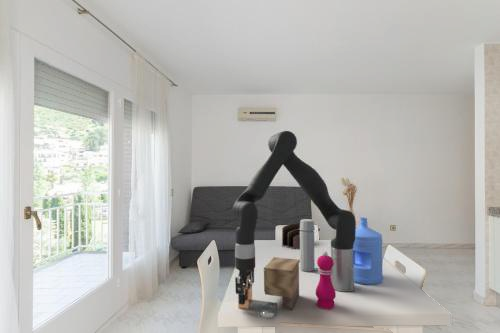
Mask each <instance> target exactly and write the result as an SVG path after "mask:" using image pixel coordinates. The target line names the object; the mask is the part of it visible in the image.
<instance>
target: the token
mask: <svg viewBox="0 0 500 333" xmlns="http://www.w3.org/2000/svg"><path fill="white" fill-rule="evenodd" d="M259 312H260V314H259V316H260V317H261V318H262V319H265V320H266V319H269V320H270V319H273V318H274V317H275V316H276V315H275V313H276V312H275V311H274V310H273V309H270V308H265V309H262V310H261V311H260V310H259Z"/></svg>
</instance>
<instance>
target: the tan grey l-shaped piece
mask: <svg viewBox="0 0 500 333" xmlns="http://www.w3.org/2000/svg"><path fill="white" fill-rule="evenodd" d="M243 288H244V287H243ZM240 290H241V289H240ZM237 295H238V296H237V298H238V300H237V302H238V304H237V305H238V306H237V308H239V309H242V310H243V309H244V310H254V311H259V312H260V311H261V310H262V309H265V308H270V309H273V310H274V311H275V313H276V312H277V310H278V303H277V302H271V301H265V300H257V299H253V285H252V286H247V288H246V290H245V304H244V305H241V304H239V294H237Z"/></svg>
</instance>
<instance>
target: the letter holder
mask: <svg viewBox="0 0 500 333" xmlns="http://www.w3.org/2000/svg"><path fill="white" fill-rule="evenodd" d="M299 229H300V223H290V224H286V225H284V226H283V227H282V230H281V232H282V233H281V236H282V237H281V247H282V248H285V247H286V249H290V248H291V250H296V248H297V249H300V248H299V247H300V231H301V230H299Z"/></svg>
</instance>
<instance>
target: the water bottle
mask: <svg viewBox="0 0 500 333" xmlns="http://www.w3.org/2000/svg"><path fill="white" fill-rule="evenodd" d="M299 222H300V229H299V230H301V231H300V248H299V255H300V256H299V260H300V262H299V269H300V270H301V271H303V272H307V273H309V272H311V273H312V272H313V271H315V268H316V267H315V264H316V263H315V262H316V261H315V231H316V228H315V221H314V219H311V218H309V219H307V218H303V219H301V220H300V221H299Z"/></svg>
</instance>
